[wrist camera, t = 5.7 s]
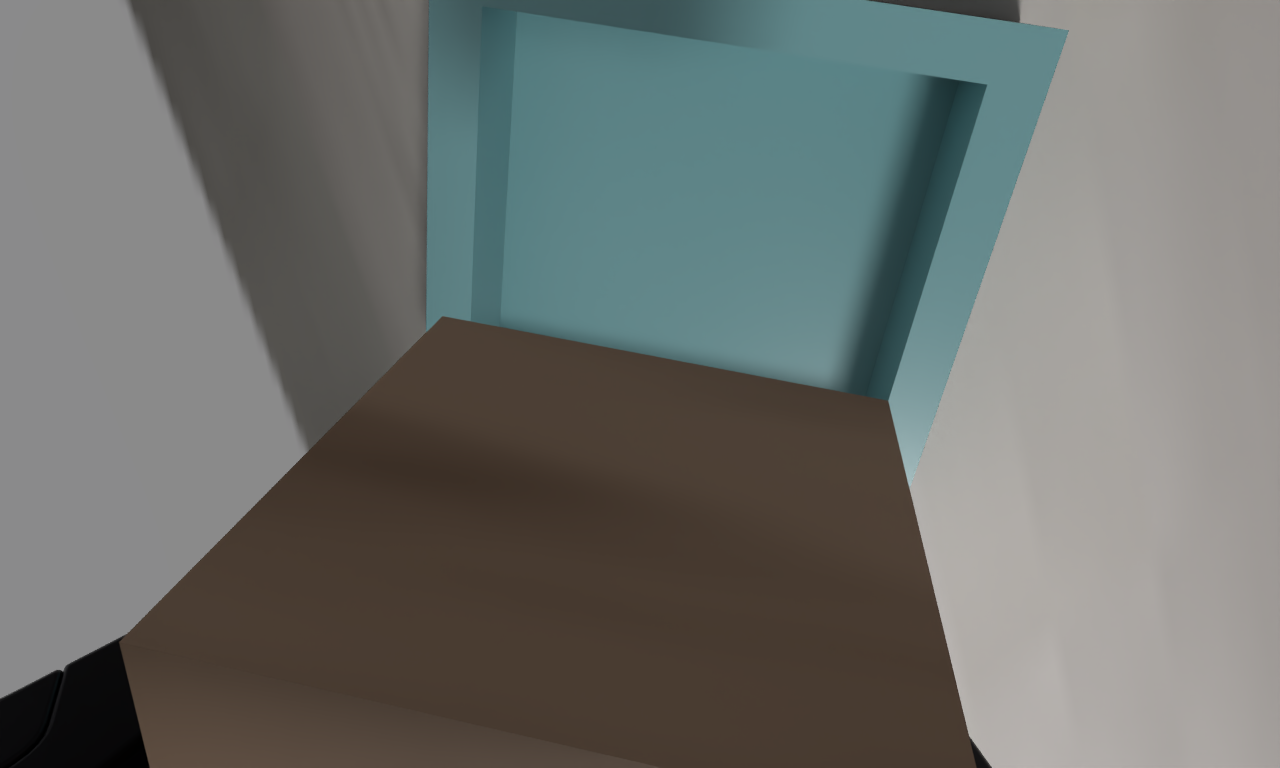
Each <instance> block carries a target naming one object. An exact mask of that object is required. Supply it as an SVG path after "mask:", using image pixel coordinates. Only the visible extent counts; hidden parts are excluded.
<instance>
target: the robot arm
mask: <svg viewBox="0 0 1280 768" xmlns="http://www.w3.org/2000/svg"><path fill="white" fill-rule="evenodd" d="M126 635H127V634H126ZM126 635H124V636H122V637H120V638H118V639H116V640H114V641H112V642H110V643H108V644H107V645H105V646H103V647H101V648H99V649H97V650H95V651H93V652H91V653H89V654H87V655H85V656H83V657H81V658H79V659H77V660H75V661H73V662H71V663H70V664H68V665H67V666H66V667H65V668H64V671H61V670H56V671H54V672H51V673H50V674H48V675H46V676H44V677H42V678H40V679H38V680H36V681H34V682H32V683H30V684H28V685H26V686H24V687H22V688H20V689H18V690H16V691H14V692H12V693H11V694H8V695H6V696H4V697H2V698H0V768H150V766H149V762H148V758H147V754H146V750H145V746H144V742H143V738H142V734H141V729H140V725H139V721H138V717H137V713H136V709H135V705H134V701H133V697H132V693H131V689H130V685H129V681H128V676H127V672H126V668H125V664H124V660H123V656H122V652H121V648H120V644H119V642H120V641H121V640H122V639H123V638H124V637H125V636H126ZM969 739H970V743H971V747H972V751H973V755H974V759H975V764H976V768H992V767H991V766H990V764H989V763H988V762H987V760H986V759H985V757H984V756H983V755H982V753H981V752H980V751H979V749H978V748H977V746H976V745H975V744H974V742H973V741H972V739H971V738H970V737H969Z"/></svg>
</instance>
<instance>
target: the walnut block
mask: <svg viewBox="0 0 1280 768" xmlns="http://www.w3.org/2000/svg"><path fill="white" fill-rule="evenodd" d="M119 644H120V648H121V652H122V656H123V660H124V664H125V668H126V672H127V676H128V681H129V685H130V689H131V693H132V697H133V701H134V705H135V709H136V713H137V717H138V721H139V725H140V729H141V734H142V738H143V742H144V746H145V750H146V754H147V758H148V762H149V766H150V768H976V764H975V759H974V755H973V751H972V747H971V743H970V739H969V734H968V730H967V726H966V722H965V718H964V714H963V709H962V705H961V701H960V697H959V693H958V689H957V685H956V680H955V676H954V672H953V668H952V664H951V660H950V655H949V651H948V647H947V643H946V639H945V635H944V630H943V626H942V622H941V618H940V614H939V610H938V605H937V601H936V597H935V593H934V589H933V585H932V581H931V576H930V572H929V568H928V564H927V560H926V556H925V551H924V547H923V543H922V539H921V535H920V531H919V526H918V522H917V518H916V514H915V510H914V506H913V501H912V497H911V493H910V489H909V485H908V481H907V476H906V472H905V468H904V464H903V460H902V456H901V452H900V447H899V443H898V439H897V435H896V431H895V427H894V422H893V418H892V414H891V410H890V406H889V402H888V401H887V400H882V399H877V398H872V397H866V396H861V395H856V394H851V393H845V392H840V391H835V390H829V389H824V388H819V387H814V386H808V385H803V384H798V383H793V382H787V381H782V380H777V379H772V378H766V377H761V376H756V375H751V374H745V373H740V372H735V371H729V370H724V369H719V368H714V367H708V366H703V365H698V364H693V363H687V362H682V361H677V360H672V359H666V358H661V357H656V356H650V355H645V354H640V353H635V352H629V351H624V350H619V349H614V348H608V347H603V346H598V345H593V344H587V343H582V342H577V341H571V340H566V339H561V338H556V337H550V336H545V335H540V334H535V333H529V332H524V331H519V330H514V329H508V328H503V327H498V326H492V325H487V324H482V323H477V322H471V321H466V320H461V319H456V318H450V317H445V316H442V317H441V318H440V319H439V320H438V321H437V322H436V323H435V324H434V325H433V326H432V327H431V328H430V329H429V330H428V331H427V332H426V333H425V334H424V335H423V336H422V337H421V338H420V339H419V340H418V341H417V342H416V343H415V344H414V345H413V346H412V347H411V348H410V349H409V350H408V351H407V352H406V353H405V354H404V355H403V356H402V357H401V358H400V359H399V360H398V361H397V362H396V363H395V364H394V365H393V367H392V368H391V369H390V370H389V371H388V372H387V373H386V374H385V375H384V376H383V377H382V378H381V379H380V380H379V381H378V382H377V383H376V384H375V385H374V386H373V387H372V388H371V389H370V390H369V391H368V392H367V393H366V394H365V395H364V396H363V397H362V398H361V399H360V400H359V401H358V402H357V403H356V404H355V405H354V406H353V407H352V408H351V409H350V410H349V411H348V412H347V413H346V414H345V415H344V416H343V417H342V418H341V419H340V420H339V421H338V422H337V423H336V424H335V425H334V426H333V427H332V428H331V429H330V430H329V431H328V432H327V433H326V434H325V435H324V436H323V437H322V438H321V439H320V440H319V441H318V442H317V443H316V444H315V445H314V446H313V447H312V448H311V449H310V450H309V451H308V452H307V453H306V454H305V455H304V456H303V457H302V458H301V459H300V460H299V461H298V462H297V463H296V464H295V465H294V466H293V467H292V468H291V469H290V470H289V471H288V472H287V474H285V475H284V476H283V477H282V479H280V480H279V481H278V483H276V485H275V486H274V487H272V489H271V490H270V491H269V492H268V493H267V494H266V495H265V496H264V497H263V498H262V499H261V500H260V501H259V502H258V503H257V504H256V505H255V506H254V507H253V508H252V509H251V510H250V511H249V512H248V513H247V514H246V515H245V516H244V517H243V518H242V519H241V520H240V521H239V522H238V523H237V524H236V525H235V526H234V527H233V528H232V529H231V530H230V531H229V532H228V533H227V534H226V535H225V536H224V537H223V538H222V539H221V540H220V541H219V542H218V543H217V544H216V545H215V546H214V547H213V548H212V549H211V550H210V551H209V552H208V553H207V554H206V555H205V556H204V557H203V558H202V559H201V560H200V561H199V562H198V563H197V564H196V565H195V566H194V567H193V568H192V569H191V570H190V571H189V572H188V573H187V574H186V575H185V576H184V577H183V578H182V579H181V580H180V581H179V582H178V583H177V584H176V585H175V586H174V587H173V588H172V589H171V590H170V591H169V593H167V594H166V595H165V596H164V597H163V598H162V600H161V601H159V602H158V604H156V606H154V607H153V608H152V609H151V611H149V612H148V614H147V615H146V616H145V617H144V618H143V619H142V620H141V621H140V622H139V623H138V624H137V625H136V626H135V627H134V628H133V629H132V630H131V631H130V632H129V633H128V634H127V635H126V636H125V637H124V638H123V639H122V640H121V641H120V642H119Z"/></svg>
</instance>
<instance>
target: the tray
mask: <svg viewBox="0 0 1280 768" xmlns="http://www.w3.org/2000/svg"><path fill="white" fill-rule="evenodd" d="M1068 31H1069V30H1063V29H1056V28H1050V27H1044V26H1037V25H1031V24H1025V23H1018V22H1011V21H1005V20H998V19H991V18H984V17H978V16H971V15H964V14H957V13H951V12H944V11H937V10H930V9H924V8H917V7H910V6H903V5H897V4H890V3H883V2H876V1H870V0H429V53H428V171H427V289H426V332H427V331H428V330H429V329H430V328H431V327H432V326H433V325H434V324H435V323H436V322H437V321H438V320H439V319H440V318H441V317H442V316H445V317H450V318H456V319H461V320H466V321H471V322H477V323H482V324H487V325H492V326H498V327H503V328H508V329H514V330H519V331H524V332H529V333H535V334H540V335H545V336H550V337H556V338H561V339H566V340H571V341H577V342H582V343H587V344H593V345H598V346H603V347H608V348H614V349H619V350H624V351H629V352H635V353H640V354H645V355H650V356H656V357H661V358H666V359H672V360H677V361H682V362H687V363H693V364H698V365H703V366H708V367H714V368H719V369H724V370H729V371H735V372H740V373H745V374H751V375H756V376H761V377H766V378H772V379H777V380H782V381H787V382H793V383H798V384H803V385H808V386H814V387H819V388H824V389H829V390H835V391H840V392H845V393H851V394H856V395H861V396H866V397H872V398H877V399H882V400H887V401H888V402H889V406H890V410H891V414H892V418H893V422H894V427H895V431H896V435H897V439H898V443H899V447H900V452H901V456H902V460H903V464H904V468H905V472H906V476H907V481H908V485H909V489H910V486H911V483H912V481H913V478H914V475H915V472H916V469H917V466H918V463H919V460H920V458H921V455H922V452H923V449H924V446H925V443H926V440H927V437H928V435H929V432H930V429H931V426H932V423H933V420H934V417H935V414H936V411H937V409H938V406H939V403H940V400H941V397H942V394H943V391H944V388H945V386H946V383H947V380H948V377H949V374H950V371H951V368H952V365H953V363H954V360H955V357H956V354H957V351H958V348H959V345H960V342H961V340H962V337H963V334H964V331H965V328H966V325H967V322H968V319H969V316H970V314H971V311H972V308H973V305H974V302H975V299H976V296H977V293H978V291H979V288H980V285H981V282H982V279H983V276H984V273H985V270H986V268H987V265H988V262H989V259H990V256H991V253H992V250H993V247H994V245H995V242H996V239H997V236H998V233H999V230H1000V227H1001V224H1002V221H1003V219H1004V216H1005V213H1006V210H1007V207H1008V204H1009V201H1010V198H1011V196H1012V193H1013V190H1014V187H1015V184H1016V181H1017V178H1018V175H1019V173H1020V170H1021V167H1022V164H1023V161H1024V158H1025V155H1026V152H1027V150H1028V147H1029V144H1030V141H1031V138H1032V135H1033V132H1034V129H1035V126H1036V124H1037V121H1038V118H1039V115H1040V112H1041V109H1042V106H1043V103H1044V101H1045V98H1046V95H1047V92H1048V89H1049V86H1050V83H1051V80H1052V78H1053V75H1054V72H1055V69H1056V66H1057V63H1058V60H1059V57H1060V55H1061V52H1062V49H1063V46H1064V43H1065V40H1066V37H1067V34H1068Z"/></svg>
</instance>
